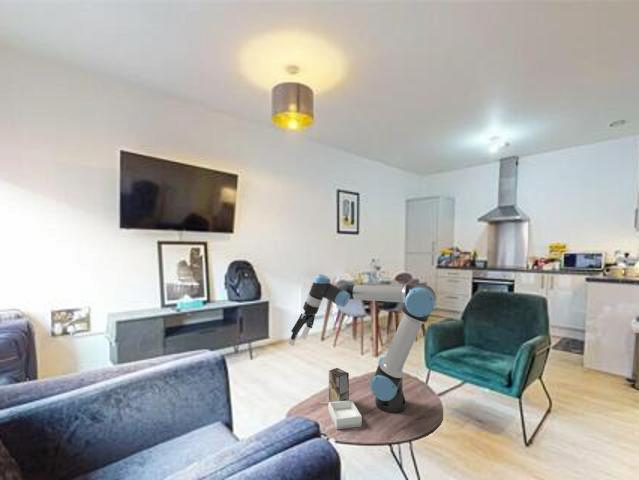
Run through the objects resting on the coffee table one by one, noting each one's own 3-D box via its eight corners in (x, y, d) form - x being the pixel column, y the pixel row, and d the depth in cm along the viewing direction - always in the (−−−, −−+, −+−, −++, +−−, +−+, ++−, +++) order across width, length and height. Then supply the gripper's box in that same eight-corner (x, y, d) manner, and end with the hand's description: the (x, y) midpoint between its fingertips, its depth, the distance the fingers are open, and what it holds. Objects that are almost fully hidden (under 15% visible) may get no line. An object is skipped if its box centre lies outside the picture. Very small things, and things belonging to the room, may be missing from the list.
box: (351, 408, 156) (351, 399, 156) (361, 426, 141) (361, 416, 141) (328, 411, 153) (328, 402, 153) (336, 429, 139) (336, 419, 139)
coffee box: (349, 405, 159) (349, 373, 159) (339, 409, 155) (339, 376, 155) (337, 398, 166) (337, 367, 166) (328, 401, 163) (328, 370, 162)
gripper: (316, 297, 174) (302, 332, 176) (294, 304, 151) (278, 343, 154) (328, 304, 171) (313, 339, 173) (307, 311, 148) (291, 351, 151)
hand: (297, 341), depth 164 cm, fingers open, 13 cm apart
